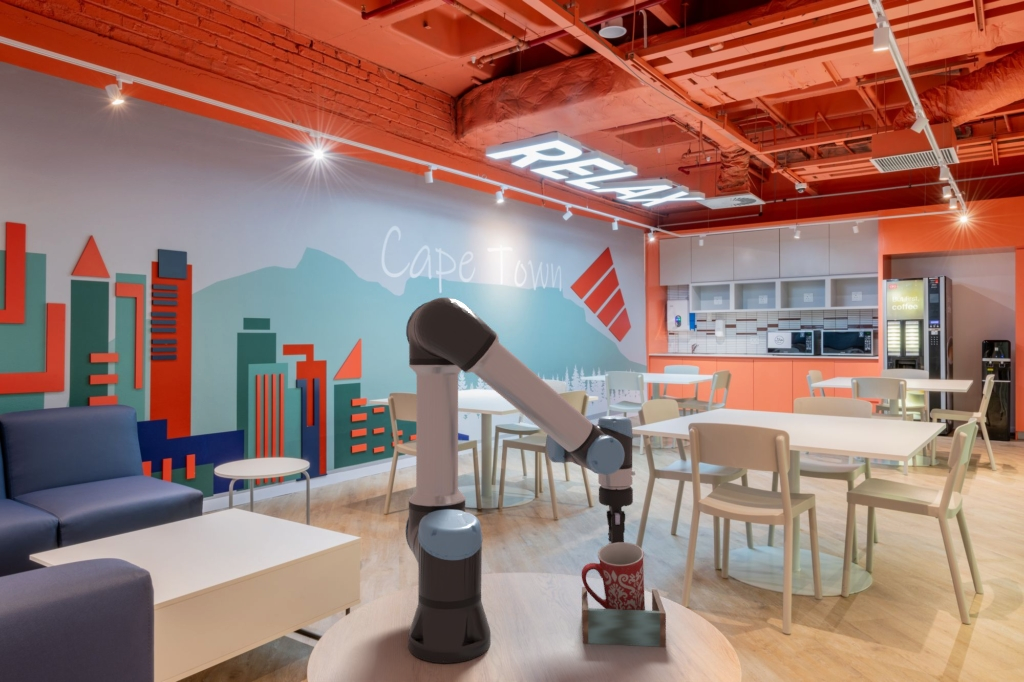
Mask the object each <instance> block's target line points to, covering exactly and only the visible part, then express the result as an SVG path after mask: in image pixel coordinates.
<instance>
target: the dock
mask: <svg viewBox="0 0 1024 682" xmlns="http://www.w3.org/2000/svg"><path fill="white" fill-rule="evenodd" d="M658 590H659V589H658V588H657V589H656V588H655V589H651V610H646V609H645V610H622V609H605V608H595V607H594V608H593V607H589V601H588V599H589V598H588V591H587V590H586V588H585V586H581V631H582V634H581V635H582V644H596V645H597V644H598V645H601V644H602V645H621V646H638V647H639V646H643V647H662V648H664V647H665V648H666V647H667V631H666V630H667V629H666V628H667V621H666V620H667V619H666V618H667V613H666V609H665V608H664V604H663V601H662V599H661V597H660V593H659V591H658Z"/></svg>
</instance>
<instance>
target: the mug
mask: <svg viewBox="0 0 1024 682" xmlns="http://www.w3.org/2000/svg"><path fill="white" fill-rule="evenodd" d="M644 553H645V552H644V550H643V548H642V547H640V545H637V544H634V543H632V542H625V541H624V542H617V543H612V544H609V543H608V544H606V545H604V546H602V547H601V548H600V549H599V550H598V552H597V558H598V560H599V563H596V562H589V563H587V564H586V565H584V566H583V567H582V570H581V581H582V583H583V585H584V586H583V587H585V588H586V590H587V594H589V595H590V597H591V598H592V599H594V601H596V602H597V603H598V604H599V605H600V606H601V607H603V609H622V610H646V605H645V582H644V581H645V580H644V579H645V576H644V575H645V573H644V570H645V569H644V556H645V554H644ZM591 570H595V571H596V572H597V573H598V574H599V576H600V577H601V579H602V582H603V583H602V584H603V588H604V595H605V598H602V597H600V596H599V595H598V594H597V593H596V592H595V591H594V590H593V589H592V588H591V587H590V586H589V583H588V582H587V575H588V573H589V572H590V571H591Z"/></svg>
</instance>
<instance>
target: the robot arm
mask: <svg viewBox="0 0 1024 682" xmlns="http://www.w3.org/2000/svg"><path fill="white" fill-rule="evenodd" d="M405 335H406V339H407V342H408V344H409V346H408V352H409V353H408V354H409V356H408V359H409V361H408V363H409V364H408V366H409V368H410V369H411V370H412V371H413V372H414V373H415V374H416V424H415V425H416V434H415V435H416V439H415V440H416V443H415V444H416V446H415V448H416V454H415V455H416V458H415V459H416V460H415V461H416V462H415V464H416V465H415V467H416V472H415V473H416V474H415V475H416V480H415V482H416V483H415V484H416V486H415V488H416V489H415V491H414V493H412V495H410V496H409V498H408V517H407V520H406V525H405V539H406V542H407V546H408V547H409V549H410V551H411V552H412V553H413V555H414V557H415V560H416V561H417V567H418V576H417V577H418V578H417V579H418V588H417V590H418V591H417V592H418V593H417V594H418V595H417V596H418V598H417V601H418V602H417V606H416V609H415V612H414V616H413V618H412V621H411V625H410V628H409V632H408V642H407V643H408V650H409V651H410V653H411V655H413V656H414V657H416V658H418V659H420V660H423V661H426V662H427V661H428V662H431V663H440V664H441V663H442V664H452V663H461V662H466V661H469V660H473V659H476V658H478V657H480V656H481V655H484V654H485V653H486V652H487V651H488V650H489V648H490V647H491V641H492V640H491V637H492V635H491V629H490V624H489V621H488V618H487V615H486V612H485V608H484V606H483V602H482V561H483V560H482V557H483V555H482V546H483V539H484V538H483V532H482V525H481V522H480V520H479V518H478V517H476V516H475V515H474V514H472V513H471V512H466V495H464V493H462V491H460V489H459V374H460V373H461V371H463V373H465V374H468V373H472V374H475V376H477V377H478V378H479V379H480V380H482V381H483V382H484V383H485V384H487V385H488V387H490V388H491V389H493V391H495V392H496V393H497V394H499V395H500V397H502V398H503V399H504V400H505V401H506V402H508V403H509V404H510V405H512V406H513V407H514V408H515V409H517V410H518V411H519V413H521V414H522V415H524V416H525V417H527V419H528V420H529V421H531V422H532V423H533V424H534V425H535V426H536V427H538V428H539V429H540V430H542V431H543V432H544V433H545V434H547V435H546V439H545V440H546V441H545V446H546V453H547V456H548V459H549V460H550V461H551V462H552V463H560V464H561V463H562V464H565V463H573V464H575V465H578V466H580V467H583V468H585V469H587V470H590V471H592V472H593V473H594V474H597V475H598V477H597V478H598V479H597V480H598V485H599V487H598V502H599V503H600V504H601V505H603V506H607V507H608V510H606V519H607V526H608V533H607V536H608V538H607V539H608V544H612V543H617V542H625V531H626V528H625V527H626V526H625V522H626V513H625V510H622V507H629V506H631V505H633V503H634V499H633V498H634V494H633V493H634V491H633V490H634V489H633V487H632V485H633V476H635V475H636V472H635V471H634V470H633V439H634V436H633V426H632V420H631V419H630V418H629V417H627V416H622V415H621V416H620V415H619V416H618V415H605V416H600V417H599V418H598V420H597V425H595V424H593V422H591V420H589V419H588V418H587V417H586V416H585V415H583V414H582V413H581V412H580V411H579V410H578V409H577V408H575V406H573V405H572V404H571V403H570V402H568V401H567V399H565V398H564V397H562V395H561V394H559V393H558V392H557V391H556V390H555V389H554V388H553V387H551V386H550V385H549V384H548V383H546V382H545V381H544V380H543V379H542V378H541V377H540V376H538V375H537V374H536V373H535V371H533V370H531V369H530V368H529V367H528V366H527V365H526V364H525V363H524V362H522V361H521V360H520V359H519V358H518V357H517V356H515V354H513V353H512V352H511V351H510V350H508V349H507V348H506V347H505V346H504V345H503V344H501V342H500V340H499V334H498V333H497V332H496V331H495V330H493V328H491V326H490V325H488V324H487V323H486V322H485V321H484V320H483V319H481V318H480V317H479V315H478V314H477V313H475V312H474V311H473V310H472V309H471V308H470V307H468V305H466V304H465V303H464V302H462V301H461V300H460V301H459V300H458V299H455V298H453V297H438V298H437V297H436V298H434V299H432V300H430V301H427V302H424V303H422V304H421V305H420V306H418V307H417V308H416V309H414V310H413V312H412V313H411V314H410V316H409V318H408V320H407V323H406V329H405Z"/></svg>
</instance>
